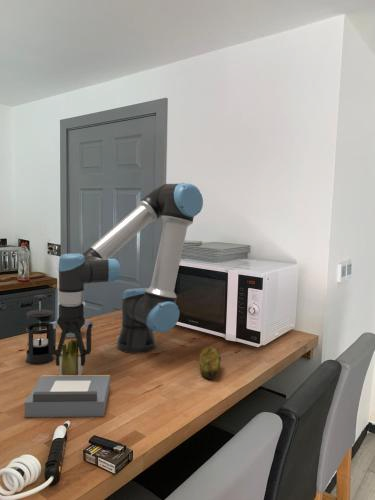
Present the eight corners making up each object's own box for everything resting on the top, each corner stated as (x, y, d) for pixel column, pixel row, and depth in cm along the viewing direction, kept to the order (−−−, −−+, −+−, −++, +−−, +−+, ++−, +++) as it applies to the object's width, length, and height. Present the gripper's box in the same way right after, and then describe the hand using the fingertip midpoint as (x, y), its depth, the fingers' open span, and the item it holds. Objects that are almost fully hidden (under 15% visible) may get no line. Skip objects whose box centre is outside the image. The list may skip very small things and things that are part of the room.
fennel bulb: (61, 381, 123) (62, 344, 122) (60, 375, 128) (60, 339, 126) (81, 379, 125) (81, 342, 124) (78, 373, 130) (79, 337, 129)
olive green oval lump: (191, 378, 129) (192, 354, 128) (202, 364, 141) (203, 342, 140) (216, 382, 127) (217, 358, 126) (225, 367, 139) (226, 345, 138)
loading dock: (109, 387, 120) (110, 368, 120) (103, 416, 104) (104, 394, 103) (41, 387, 118) (41, 368, 118) (24, 417, 102) (24, 395, 101)
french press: (39, 367, 133) (39, 300, 130) (18, 362, 136) (17, 296, 134) (63, 355, 144) (63, 293, 141) (42, 351, 147) (42, 290, 145)
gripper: (102, 301, 129) (100, 370, 131) (44, 300, 127) (44, 370, 129) (99, 306, 121) (98, 380, 124) (38, 306, 119) (38, 380, 122)
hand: (70, 374), depth 126 cm, fingers closed on fennel bulb, 5 cm apart
